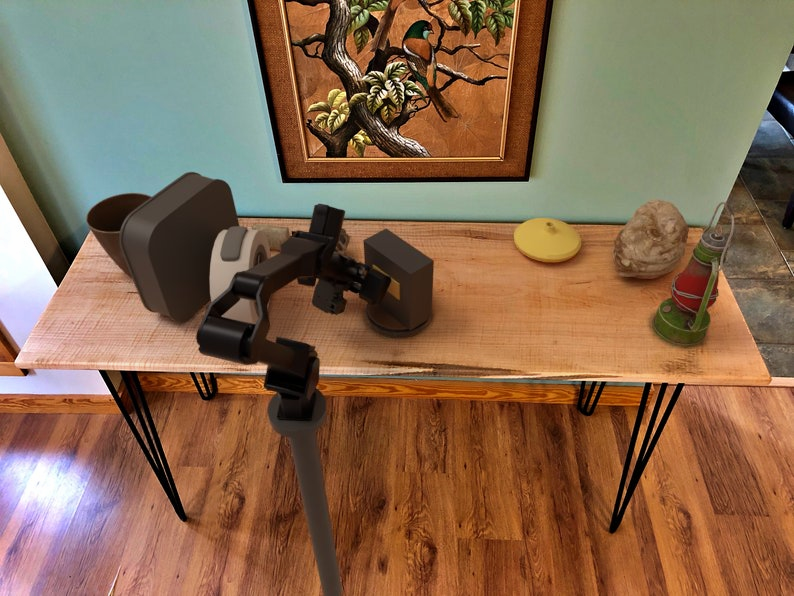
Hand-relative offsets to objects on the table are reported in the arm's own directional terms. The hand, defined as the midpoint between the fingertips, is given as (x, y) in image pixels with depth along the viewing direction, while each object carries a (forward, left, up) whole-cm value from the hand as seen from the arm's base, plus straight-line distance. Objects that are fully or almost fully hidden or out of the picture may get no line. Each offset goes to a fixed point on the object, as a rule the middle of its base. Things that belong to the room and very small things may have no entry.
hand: (367, 279), depth 129 cm
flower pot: (+11, +53, -8) cm, 55 cm away
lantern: (-4, -65, -8) cm, 65 cm away
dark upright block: (-2, -7, -6) cm, 9 cm away
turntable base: (-2, -7, -8) cm, 10 cm away
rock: (+16, -62, -8) cm, 64 cm away
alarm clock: (-2, +25, -8) cm, 27 cm away
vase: (+22, -41, -8) cm, 47 cm away
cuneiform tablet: (+19, +23, -8) cm, 31 cm away
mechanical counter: (+19, +9, -8) cm, 22 cm away
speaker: (+4, +38, -8) cm, 39 cm away
